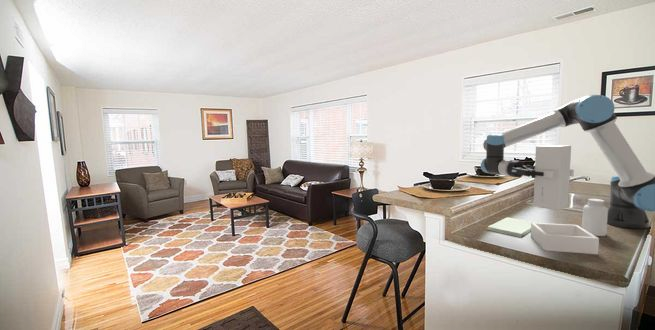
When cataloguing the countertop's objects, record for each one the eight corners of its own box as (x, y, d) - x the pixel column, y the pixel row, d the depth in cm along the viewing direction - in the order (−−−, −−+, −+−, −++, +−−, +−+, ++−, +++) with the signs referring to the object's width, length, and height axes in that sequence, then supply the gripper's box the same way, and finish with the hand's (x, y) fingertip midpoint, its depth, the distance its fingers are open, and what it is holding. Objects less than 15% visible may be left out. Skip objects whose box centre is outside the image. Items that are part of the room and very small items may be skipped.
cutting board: (507, 220, 152) (507, 217, 152) (539, 226, 141) (539, 222, 141) (487, 229, 139) (487, 226, 139) (521, 237, 128) (521, 233, 127)
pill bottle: (611, 237, 124) (613, 201, 122) (589, 236, 125) (591, 201, 124) (598, 230, 132) (600, 197, 130) (577, 230, 133) (579, 197, 132)
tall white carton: (533, 206, 122) (535, 146, 120) (543, 203, 127) (546, 145, 124) (558, 210, 115) (561, 146, 112) (568, 207, 119) (571, 145, 117)
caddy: (576, 238, 123) (577, 224, 123) (598, 254, 108) (598, 238, 107) (530, 236, 128) (531, 222, 128) (545, 250, 113) (545, 235, 112)
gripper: (530, 174, 140) (582, 181, 119) (492, 178, 133) (541, 186, 112) (530, 158, 139) (583, 162, 118) (493, 161, 133) (542, 166, 112)
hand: (563, 174), depth 115 cm, fingers closed on tall white carton, 10 cm apart
